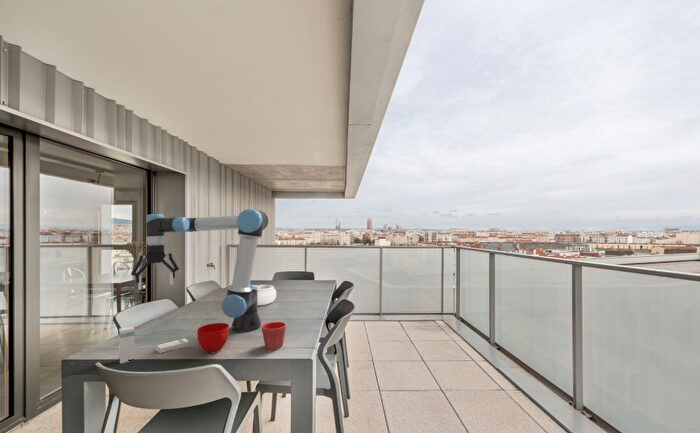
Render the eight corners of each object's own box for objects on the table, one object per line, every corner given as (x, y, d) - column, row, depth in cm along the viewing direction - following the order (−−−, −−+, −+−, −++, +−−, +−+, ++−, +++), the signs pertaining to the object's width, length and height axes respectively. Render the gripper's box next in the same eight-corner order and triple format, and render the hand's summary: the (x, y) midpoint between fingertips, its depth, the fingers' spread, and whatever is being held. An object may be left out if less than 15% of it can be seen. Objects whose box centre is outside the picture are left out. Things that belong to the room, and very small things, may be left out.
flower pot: (265, 342, 141) (265, 321, 141) (288, 342, 141) (288, 321, 141) (258, 351, 130) (258, 329, 131) (282, 351, 130) (282, 328, 130)
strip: (185, 342, 142) (185, 337, 142) (189, 345, 138) (189, 341, 138) (155, 350, 134) (155, 345, 134) (159, 353, 130) (159, 348, 130)
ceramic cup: (209, 361, 121) (209, 336, 121) (192, 351, 132) (192, 328, 132) (238, 351, 131) (238, 328, 131) (220, 342, 142) (220, 321, 142)
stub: (132, 356, 127) (132, 326, 128) (134, 359, 124) (134, 328, 124) (118, 360, 124) (119, 328, 124) (120, 363, 121) (120, 331, 121)
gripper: (180, 243, 162) (181, 282, 161) (123, 246, 144) (123, 290, 143) (184, 243, 156) (185, 283, 155) (126, 246, 139) (126, 292, 138)
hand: (156, 287), depth 149 cm, fingers open, 13 cm apart
